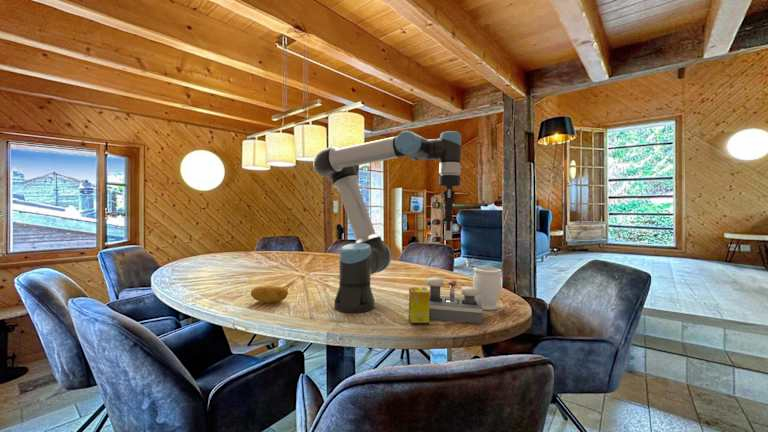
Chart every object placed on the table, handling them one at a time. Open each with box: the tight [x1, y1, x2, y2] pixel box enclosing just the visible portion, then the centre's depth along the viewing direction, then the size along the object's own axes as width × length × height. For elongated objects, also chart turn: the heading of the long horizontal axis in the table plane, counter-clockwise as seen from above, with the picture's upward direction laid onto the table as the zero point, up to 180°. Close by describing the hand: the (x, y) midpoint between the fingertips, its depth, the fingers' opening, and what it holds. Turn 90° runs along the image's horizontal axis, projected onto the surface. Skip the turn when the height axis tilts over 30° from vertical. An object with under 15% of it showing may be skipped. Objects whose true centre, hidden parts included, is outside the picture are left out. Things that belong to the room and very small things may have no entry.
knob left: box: [426, 276, 444, 300], centre depth 119 cm, size 6×6×7 cm
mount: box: [429, 295, 484, 324], centre depth 117 cm, size 20×12×5 cm, turn 78°
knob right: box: [460, 285, 478, 305], centre depth 116 cm, size 6×6×7 cm
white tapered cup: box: [472, 265, 502, 311], centre depth 127 cm, size 11×10×15 cm
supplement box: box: [408, 286, 430, 326], centre depth 110 cm, size 6×6×11 cm
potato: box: [250, 285, 289, 304], centre depth 128 cm, size 8×14×7 cm, turn 86°
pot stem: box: [446, 279, 458, 304], centre depth 117 cm, size 4×4×12 cm
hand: (448, 238), depth 121 cm, fingers open, 5 cm apart
